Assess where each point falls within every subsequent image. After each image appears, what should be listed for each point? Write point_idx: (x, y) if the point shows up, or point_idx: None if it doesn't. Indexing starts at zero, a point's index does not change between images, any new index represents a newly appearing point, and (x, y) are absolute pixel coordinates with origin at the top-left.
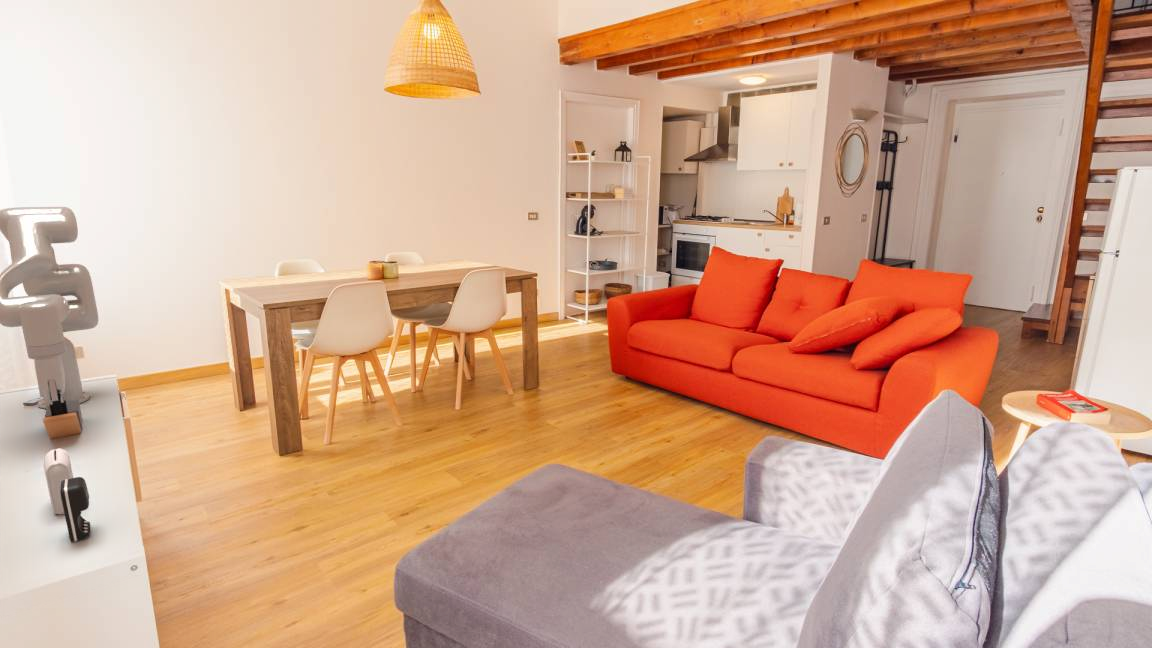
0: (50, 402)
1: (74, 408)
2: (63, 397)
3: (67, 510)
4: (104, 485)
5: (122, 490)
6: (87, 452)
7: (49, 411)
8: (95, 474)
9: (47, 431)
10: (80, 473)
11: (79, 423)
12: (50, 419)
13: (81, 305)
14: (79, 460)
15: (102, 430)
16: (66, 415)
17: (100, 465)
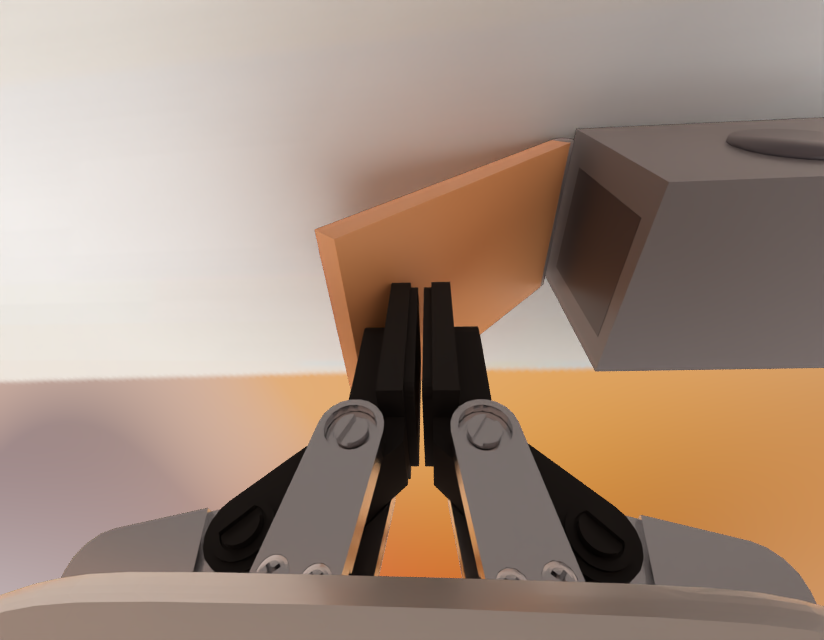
0: (311, 444)
1: (669, 353)
2: (451, 512)
3: None
4: None
5: None
6: (285, 295)
7: (792, 208)
8: (40, 322)
9: (478, 169)
10: (50, 281)
11: (565, 307)
12: (328, 282)
13: None
14: (198, 273)
15: (535, 335)
16: (352, 375)
17: (127, 333)
